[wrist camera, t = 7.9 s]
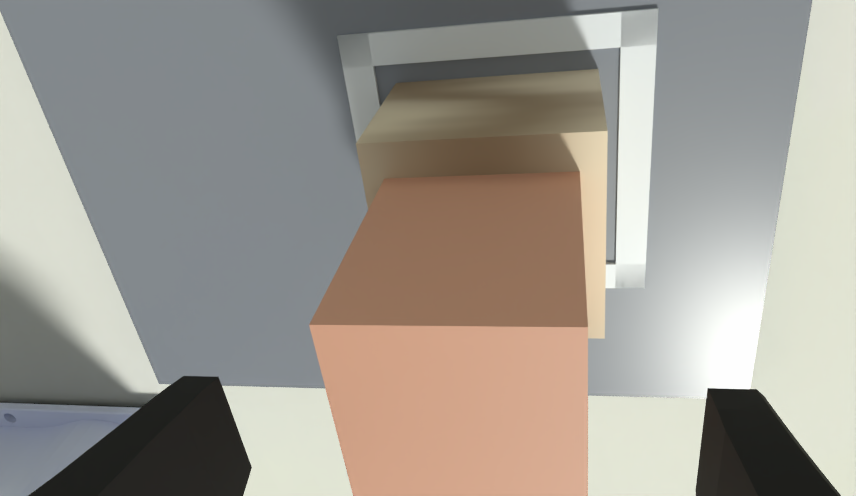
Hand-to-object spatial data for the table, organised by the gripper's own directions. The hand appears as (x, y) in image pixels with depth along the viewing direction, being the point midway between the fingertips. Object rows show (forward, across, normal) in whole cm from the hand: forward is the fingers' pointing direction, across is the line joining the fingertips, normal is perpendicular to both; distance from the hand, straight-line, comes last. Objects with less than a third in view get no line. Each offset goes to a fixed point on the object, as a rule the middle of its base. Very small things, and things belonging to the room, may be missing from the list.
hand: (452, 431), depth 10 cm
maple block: (+9, 0, 0) cm, 9 cm away
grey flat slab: (+10, +3, 0) cm, 11 cm away
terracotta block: (+5, 0, 0) cm, 5 cm away
